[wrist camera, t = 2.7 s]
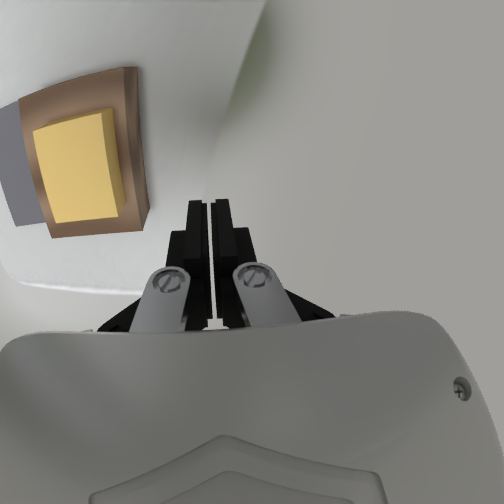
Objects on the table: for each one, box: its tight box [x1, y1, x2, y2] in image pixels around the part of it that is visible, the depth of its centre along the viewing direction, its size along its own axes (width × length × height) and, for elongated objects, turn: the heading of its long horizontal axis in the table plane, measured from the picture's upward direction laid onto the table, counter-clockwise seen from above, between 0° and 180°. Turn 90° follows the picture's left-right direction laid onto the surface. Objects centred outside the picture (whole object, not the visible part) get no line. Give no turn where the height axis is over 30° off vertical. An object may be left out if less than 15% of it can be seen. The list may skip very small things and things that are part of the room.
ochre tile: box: [33, 107, 126, 223], centre depth 17 cm, size 8×6×2 cm
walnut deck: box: [18, 67, 150, 238], centre depth 19 cm, size 14×10×4 cm
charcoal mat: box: [0, 101, 46, 226], centre depth 19 cm, size 14×8×1 cm, turn 177°
